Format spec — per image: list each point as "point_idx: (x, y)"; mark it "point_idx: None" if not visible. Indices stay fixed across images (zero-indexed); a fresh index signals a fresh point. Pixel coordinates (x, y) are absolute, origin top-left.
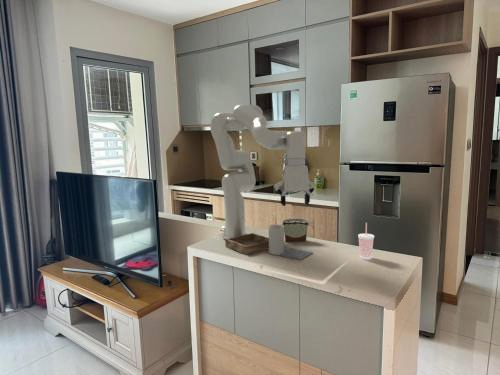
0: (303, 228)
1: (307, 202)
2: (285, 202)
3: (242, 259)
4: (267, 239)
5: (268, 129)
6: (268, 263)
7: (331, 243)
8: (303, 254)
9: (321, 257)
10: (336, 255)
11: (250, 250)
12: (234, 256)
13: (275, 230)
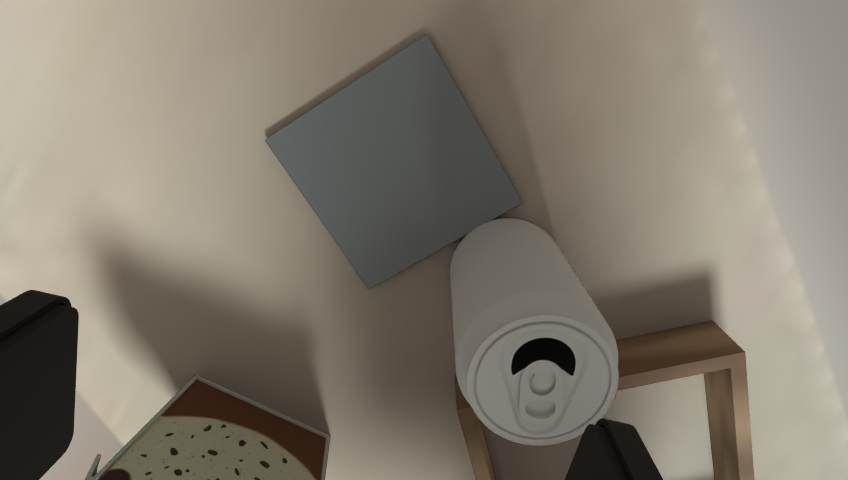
0: (160, 457)
1: (26, 320)
2: (615, 470)
3: (789, 252)
4: (484, 456)
5: None
6: (685, 88)
7: (22, 276)
8: (355, 128)
9: (251, 18)
10: (114, 3)
11: (686, 341)
12: (796, 331)
13: (587, 310)
